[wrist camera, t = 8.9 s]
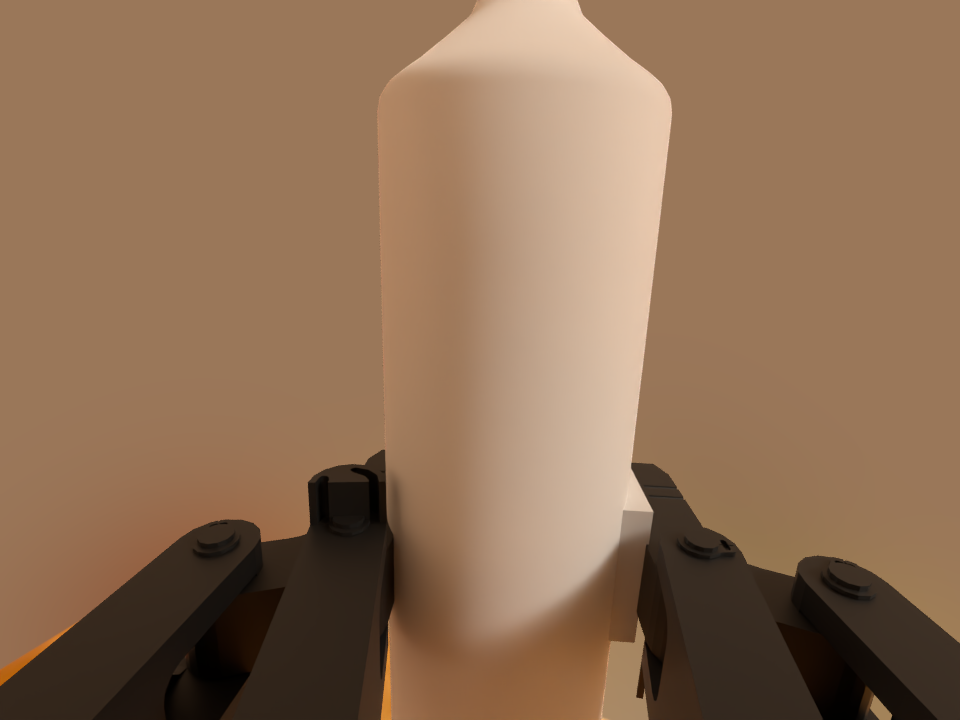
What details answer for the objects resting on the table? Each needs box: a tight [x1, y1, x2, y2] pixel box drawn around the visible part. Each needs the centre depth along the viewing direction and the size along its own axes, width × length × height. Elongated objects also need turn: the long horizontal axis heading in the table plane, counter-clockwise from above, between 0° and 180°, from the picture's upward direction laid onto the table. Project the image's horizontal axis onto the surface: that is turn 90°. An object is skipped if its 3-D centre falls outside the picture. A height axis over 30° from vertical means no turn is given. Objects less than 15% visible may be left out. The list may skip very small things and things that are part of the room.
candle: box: [377, 0, 672, 720], centre depth 10 cm, size 7×7×25 cm
